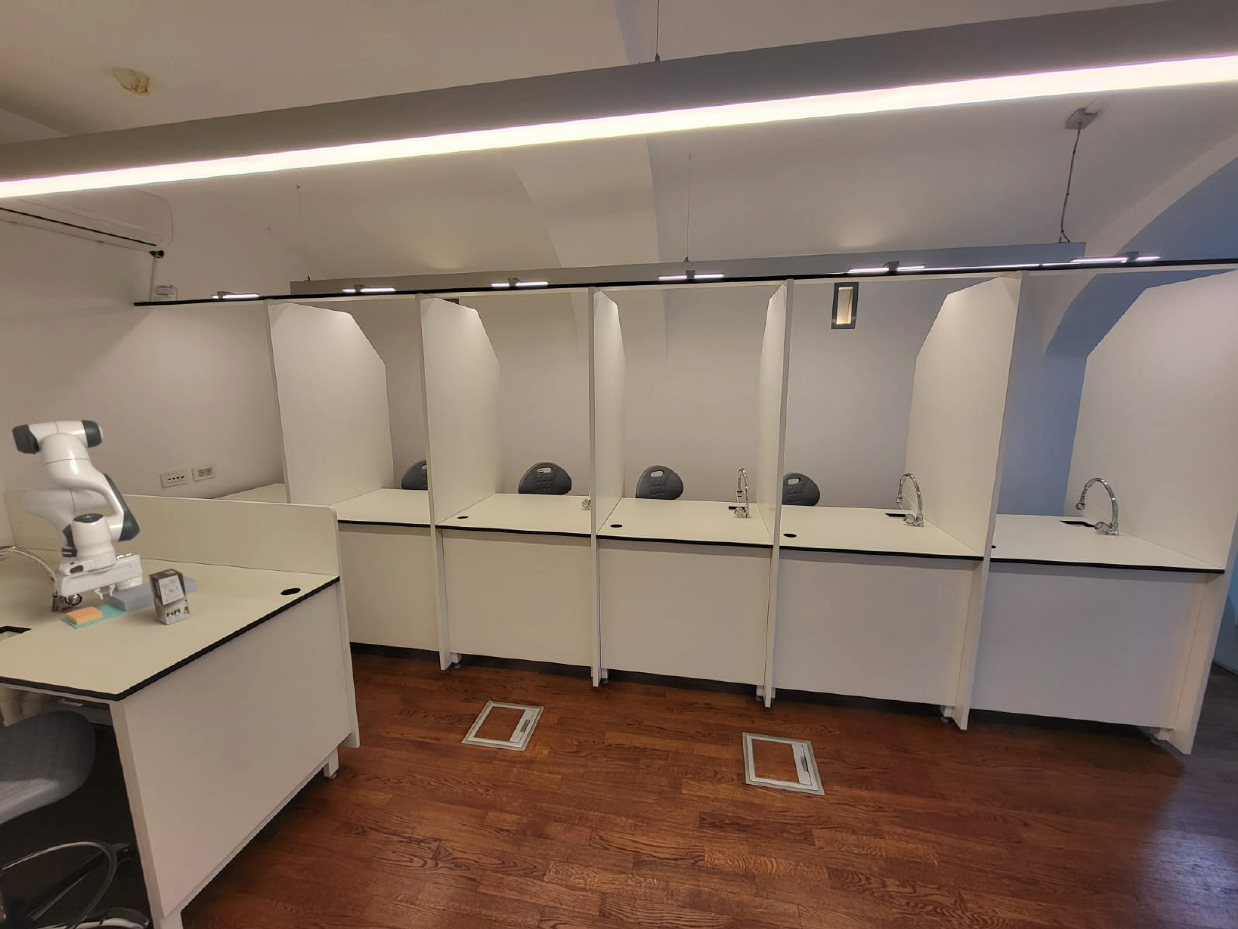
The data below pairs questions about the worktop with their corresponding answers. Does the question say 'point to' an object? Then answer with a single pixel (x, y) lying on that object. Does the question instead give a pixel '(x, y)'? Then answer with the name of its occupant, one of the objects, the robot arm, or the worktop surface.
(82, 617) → the orange block
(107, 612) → the mat
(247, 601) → the worktop surface
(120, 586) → the white cup
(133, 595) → the gray block
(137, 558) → the robot arm
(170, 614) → the coffee box
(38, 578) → the worktop surface
